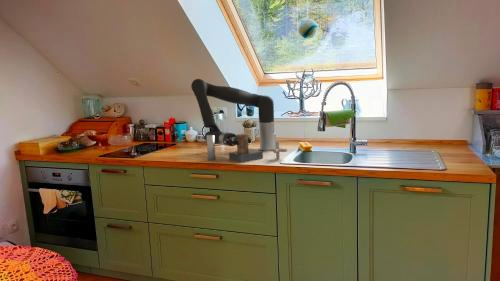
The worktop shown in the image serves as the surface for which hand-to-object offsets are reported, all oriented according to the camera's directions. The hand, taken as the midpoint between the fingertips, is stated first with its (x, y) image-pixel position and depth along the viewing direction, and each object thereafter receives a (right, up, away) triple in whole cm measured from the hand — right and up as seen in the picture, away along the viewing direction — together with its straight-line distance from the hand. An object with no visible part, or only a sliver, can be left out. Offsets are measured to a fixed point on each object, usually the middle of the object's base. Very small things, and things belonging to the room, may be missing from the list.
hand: (244, 142), depth 209 cm
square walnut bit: (-1, -10, +3) cm, 10 cm away
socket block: (+1, -9, +4) cm, 10 cm away
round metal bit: (-18, -10, +5) cm, 21 cm away
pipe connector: (+18, -10, +1) cm, 21 cm away
